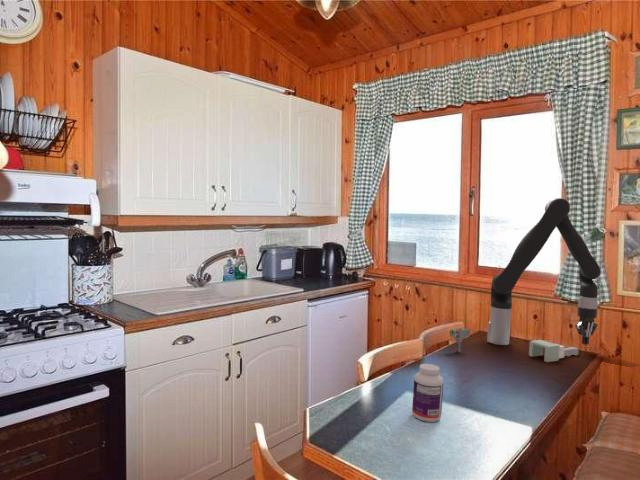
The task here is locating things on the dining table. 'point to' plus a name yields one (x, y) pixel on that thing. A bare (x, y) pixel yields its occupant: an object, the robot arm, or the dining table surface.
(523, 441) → the dining table surface
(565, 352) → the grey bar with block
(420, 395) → the pill bottle
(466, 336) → the mechanical component
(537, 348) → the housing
